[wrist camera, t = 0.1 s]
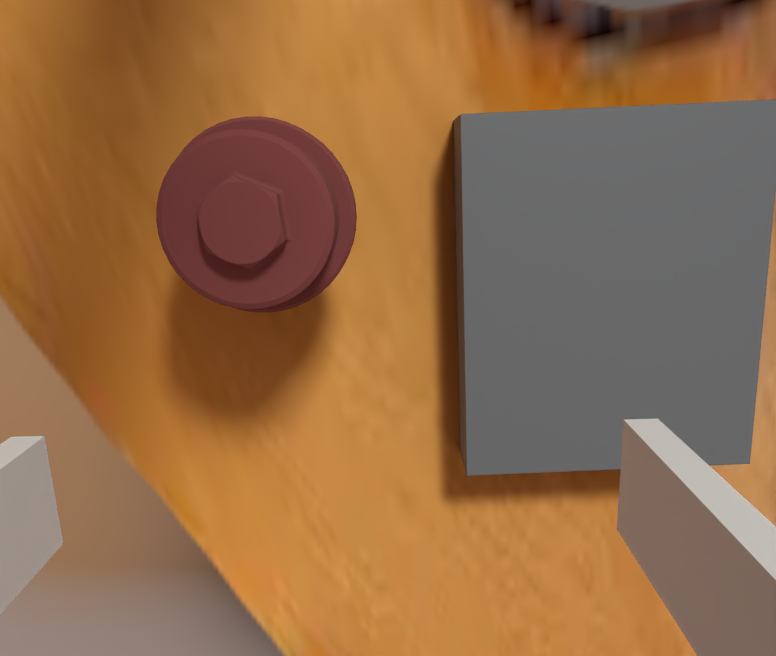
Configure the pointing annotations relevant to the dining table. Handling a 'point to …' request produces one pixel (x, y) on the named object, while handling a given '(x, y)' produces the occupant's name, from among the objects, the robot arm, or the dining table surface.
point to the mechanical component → (256, 215)
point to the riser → (610, 280)
